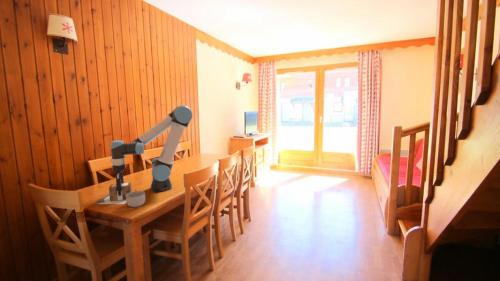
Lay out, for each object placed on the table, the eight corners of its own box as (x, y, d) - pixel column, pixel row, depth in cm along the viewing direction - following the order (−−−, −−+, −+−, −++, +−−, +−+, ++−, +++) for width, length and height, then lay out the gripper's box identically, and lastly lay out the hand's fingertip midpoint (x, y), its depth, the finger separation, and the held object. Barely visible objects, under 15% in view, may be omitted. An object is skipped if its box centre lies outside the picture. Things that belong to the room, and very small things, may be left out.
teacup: (143, 208, 152) (143, 195, 151) (124, 210, 150) (123, 197, 149) (148, 200, 166) (147, 188, 165) (130, 201, 164) (129, 189, 163)
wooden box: (131, 195, 174) (130, 182, 173) (130, 199, 166) (129, 185, 165) (112, 197, 170) (111, 183, 169) (110, 201, 162) (108, 187, 161)
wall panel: (138, 193, 178) (138, 191, 178) (124, 204, 158) (123, 201, 158) (113, 193, 178) (112, 191, 178) (95, 204, 158) (95, 201, 158)
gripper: (115, 161, 174) (117, 193, 177) (109, 168, 154) (112, 204, 157) (127, 160, 176) (129, 192, 179) (122, 167, 156) (125, 202, 159)
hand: (121, 197), depth 168 cm, fingers closed on wooden box, 8 cm apart
